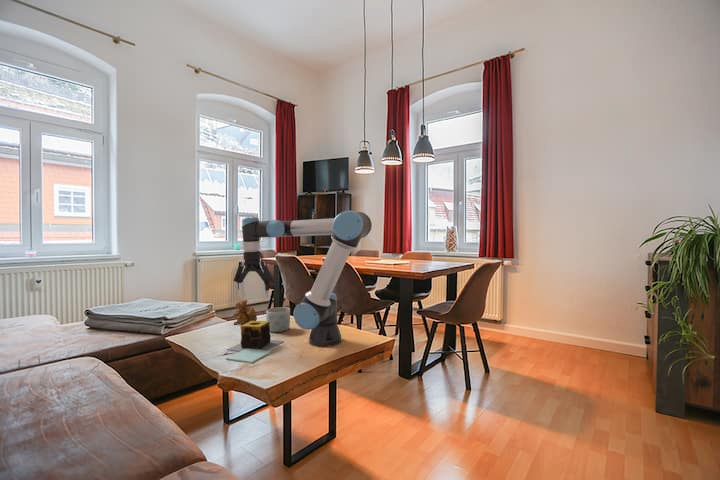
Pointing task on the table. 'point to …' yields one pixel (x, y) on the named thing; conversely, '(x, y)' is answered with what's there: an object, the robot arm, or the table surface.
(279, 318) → the planter
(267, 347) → the gray mat
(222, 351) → the table surface
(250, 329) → the candle
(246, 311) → the stuffed squirrel
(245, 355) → the pad
